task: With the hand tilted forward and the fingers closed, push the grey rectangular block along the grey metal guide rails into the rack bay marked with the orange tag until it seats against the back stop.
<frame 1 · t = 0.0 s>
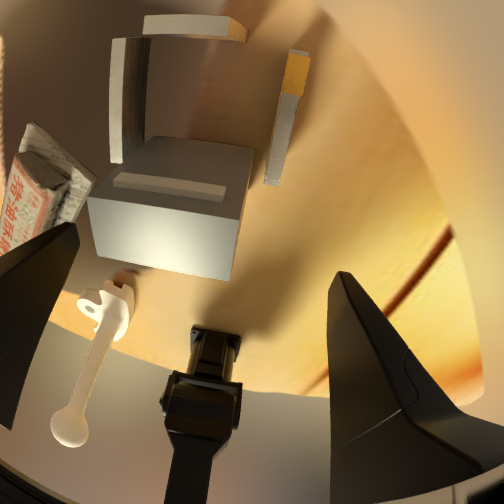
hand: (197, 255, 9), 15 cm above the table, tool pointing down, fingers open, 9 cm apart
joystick: (108, 301, 35), on the table
packaged product: (42, 202, 27), on the table
rack bay: (208, 96, 19), on the table
grey rectangular block: (183, 190, 18), point 5 cm above the table, slide at 0.0 cm
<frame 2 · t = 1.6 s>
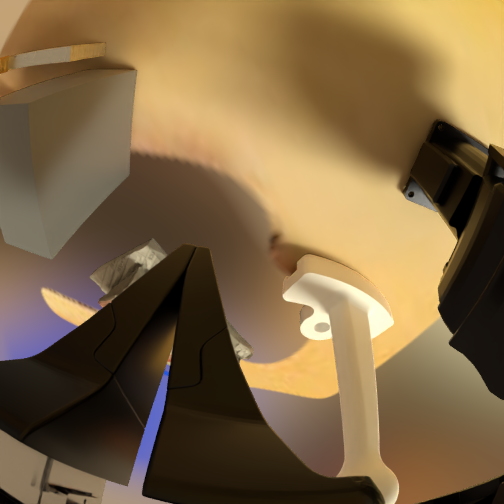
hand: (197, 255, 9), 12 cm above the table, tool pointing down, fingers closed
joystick: (333, 297, 27), on the table
packaged product: (176, 310, 31), on the table
rack bay: (56, 117, 17), on the table
grey rectangular block: (64, 145, 14), point 5 cm above the table, slide at 0.0 cm
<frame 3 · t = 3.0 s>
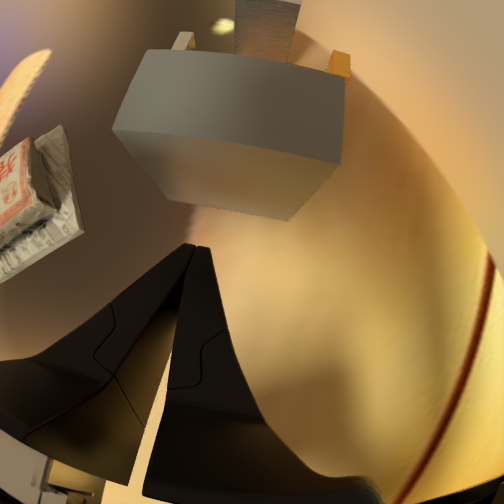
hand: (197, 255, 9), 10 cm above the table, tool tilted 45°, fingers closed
packaged product: (4, 224, 19), on the table
rack bay: (247, 114, 20), on the table
grey rectangular block: (233, 146, 14), point 5 cm above the table, slide at 0.0 cm
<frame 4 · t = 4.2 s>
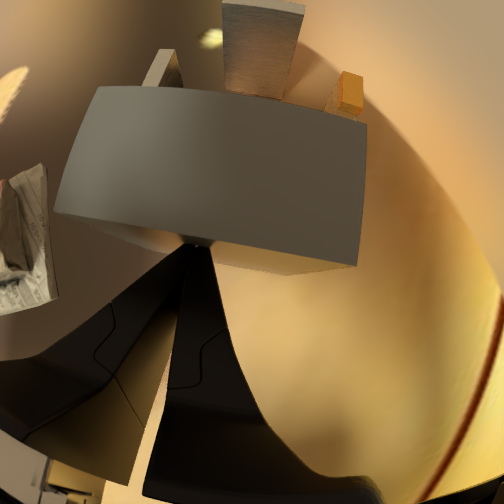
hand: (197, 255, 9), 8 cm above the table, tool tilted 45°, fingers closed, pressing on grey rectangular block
rack bay: (240, 149, 18), on the table
grey rectangular block: (219, 201, 12), point 5 cm above the table, slide at 0.3 cm, touching gripper
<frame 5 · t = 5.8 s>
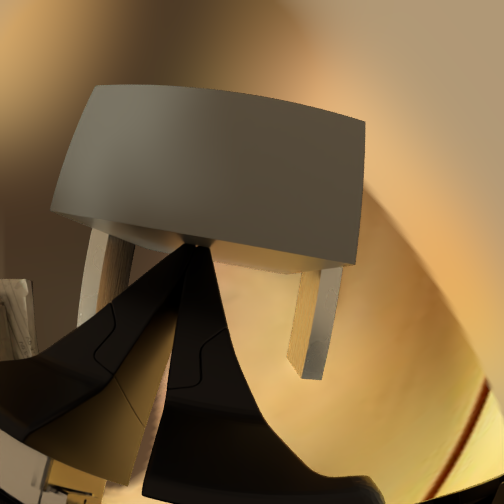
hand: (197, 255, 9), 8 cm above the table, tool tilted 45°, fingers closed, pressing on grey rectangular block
rack bay: (214, 267, 17), on the table
grey rectangular block: (217, 200, 12), point 5 cm above the table, slide at 7.8 cm, touching gripper
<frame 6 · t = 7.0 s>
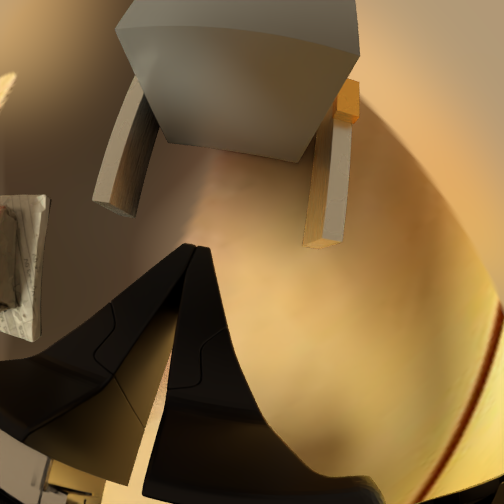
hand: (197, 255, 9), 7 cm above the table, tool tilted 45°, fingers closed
rack bay: (230, 158, 17), on the table
grey rectangular block: (240, 72, 12), point 5 cm above the table, slide at 7.9 cm
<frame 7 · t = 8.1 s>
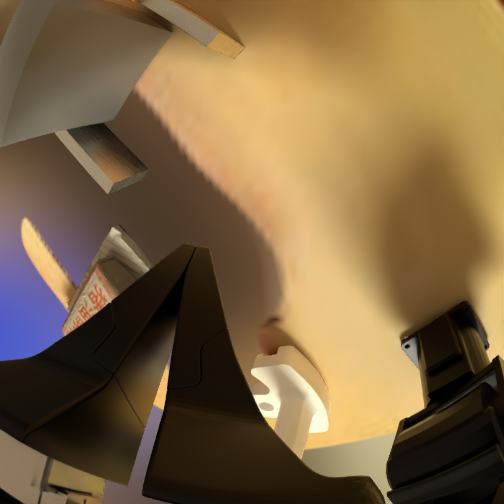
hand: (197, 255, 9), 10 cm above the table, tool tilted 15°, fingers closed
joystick: (288, 386, 27), on the table
packaged product: (121, 304, 29), on the table
rack bay: (145, 80, 17), on the table
grey rectangular block: (72, 61, 12), point 5 cm above the table, slide at 7.9 cm
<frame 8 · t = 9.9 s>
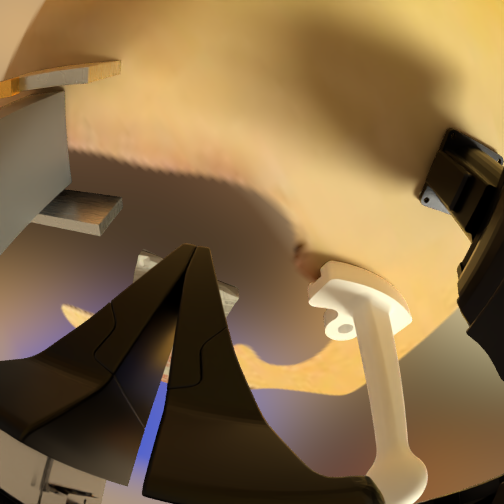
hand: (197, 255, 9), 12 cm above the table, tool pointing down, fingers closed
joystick: (354, 299, 27), on the table
packaged product: (171, 316, 32), on the table
rack bay: (72, 137, 19), on the table
grey rectangular block: (8, 164, 14), point 5 cm above the table, slide at 7.9 cm
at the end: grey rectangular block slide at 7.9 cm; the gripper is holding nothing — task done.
